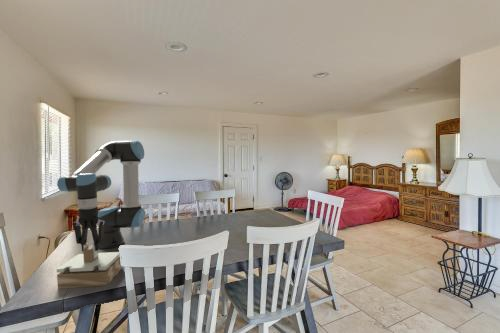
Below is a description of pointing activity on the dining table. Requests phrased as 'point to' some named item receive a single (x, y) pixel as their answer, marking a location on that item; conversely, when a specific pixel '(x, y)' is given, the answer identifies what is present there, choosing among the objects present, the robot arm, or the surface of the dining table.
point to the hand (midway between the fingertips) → (91, 257)
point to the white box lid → (89, 261)
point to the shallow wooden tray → (88, 276)
